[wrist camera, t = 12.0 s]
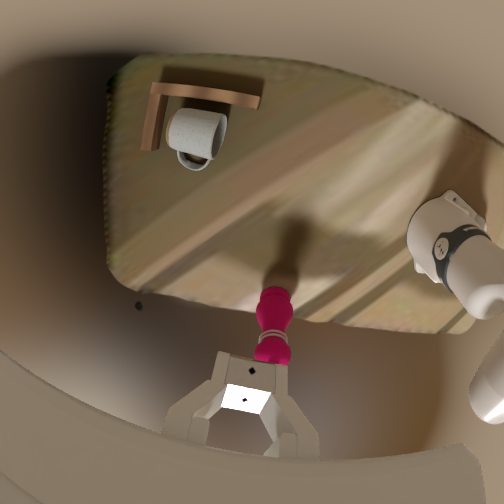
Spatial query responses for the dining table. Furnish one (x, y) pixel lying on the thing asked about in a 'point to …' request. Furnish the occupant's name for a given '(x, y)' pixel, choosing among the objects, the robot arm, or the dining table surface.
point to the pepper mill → (274, 326)
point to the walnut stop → (166, 89)
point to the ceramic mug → (196, 134)
